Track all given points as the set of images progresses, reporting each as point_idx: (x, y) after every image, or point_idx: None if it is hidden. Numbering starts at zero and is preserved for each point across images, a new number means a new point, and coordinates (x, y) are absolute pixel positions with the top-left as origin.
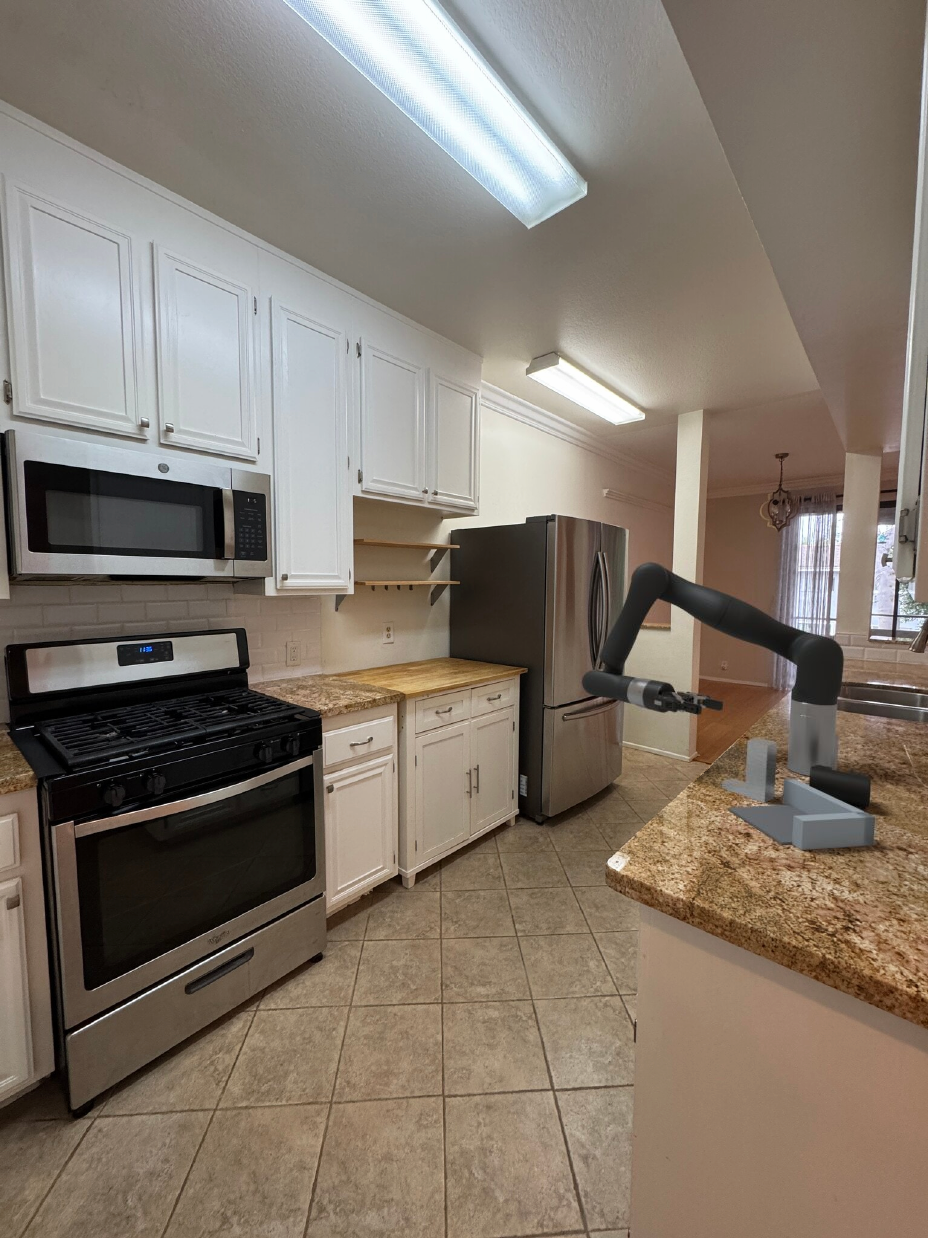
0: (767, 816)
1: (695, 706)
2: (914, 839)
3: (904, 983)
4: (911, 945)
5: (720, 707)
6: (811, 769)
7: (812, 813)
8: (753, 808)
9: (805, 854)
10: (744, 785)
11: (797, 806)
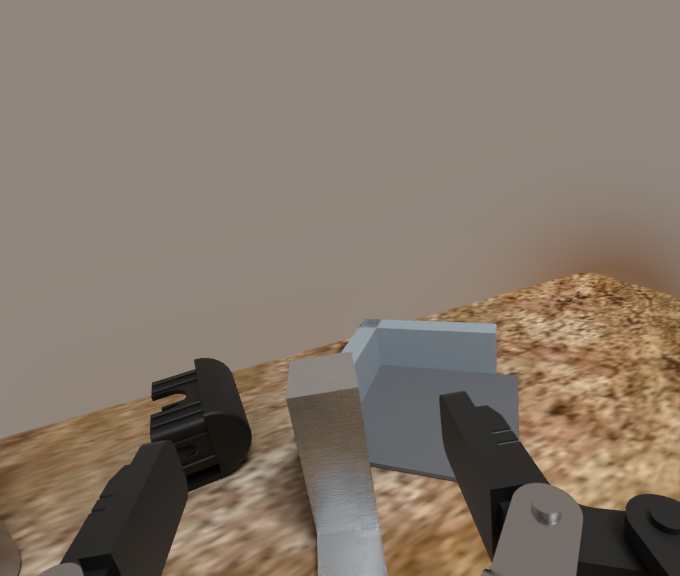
0: None
1: (485, 412)
2: (294, 356)
3: (588, 273)
4: (538, 286)
5: (182, 472)
6: (222, 411)
7: None
8: (448, 466)
9: (500, 360)
10: (351, 546)
11: None
